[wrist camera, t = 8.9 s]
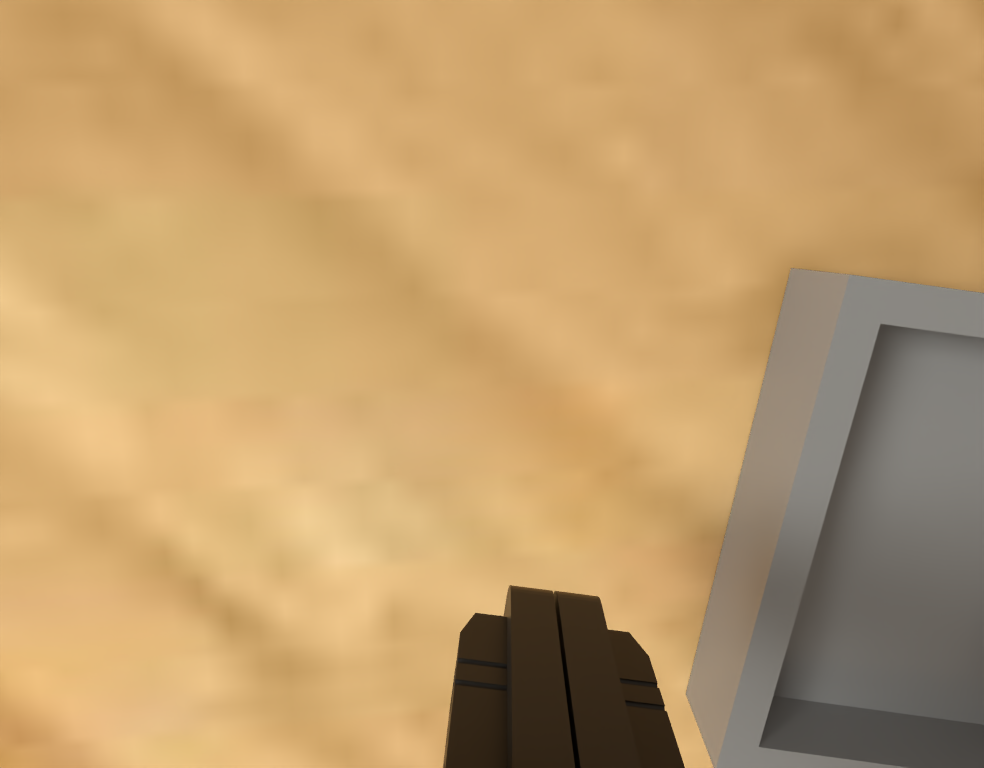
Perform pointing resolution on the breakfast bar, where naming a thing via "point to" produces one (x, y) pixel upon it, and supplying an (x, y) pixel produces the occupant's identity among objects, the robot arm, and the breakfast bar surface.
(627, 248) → the breakfast bar surface
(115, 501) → the breakfast bar surface
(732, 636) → the slate tray
